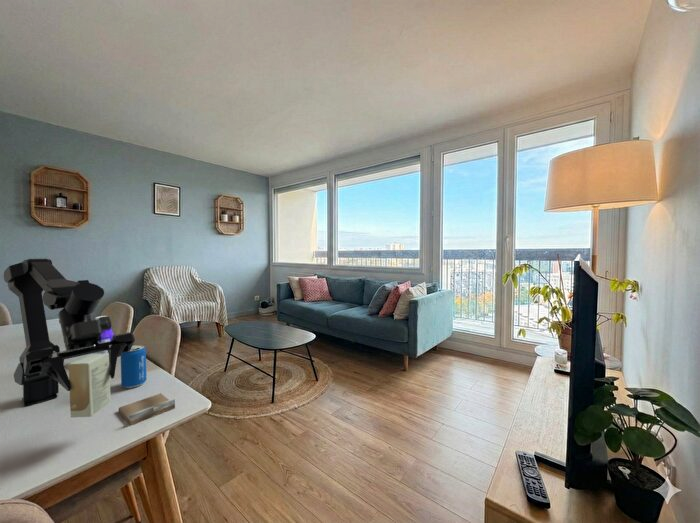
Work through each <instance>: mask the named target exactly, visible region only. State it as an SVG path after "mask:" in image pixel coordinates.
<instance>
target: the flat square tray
mask: <svg viewBox="0 0 700 523" xmlns="http://www.w3.org/2000/svg"><path fill="white" fill-rule="evenodd" d="M175 408H176V399H175V398H171V399H169V398H167V397H166V396H165V395H164V394H162V393H157V394H155V395H154V394H153V395H152V396H149V397H145V398H143V399H141V400H137V401H135V402H131V403H129V404H125V405H123V406H120V407H118V413H119V414H120V415H121V416H122V418H124V420H125V421H126V422H127V423H128V424H129V425H130V426H134V425H136V424H138V423H141V422H143V421H146V420H148V419H150V418H151V419H152V418H153V417H155V416H158V415H161V414H163V413H166V412H168V411H170V410H174V409H175Z"/></svg>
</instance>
